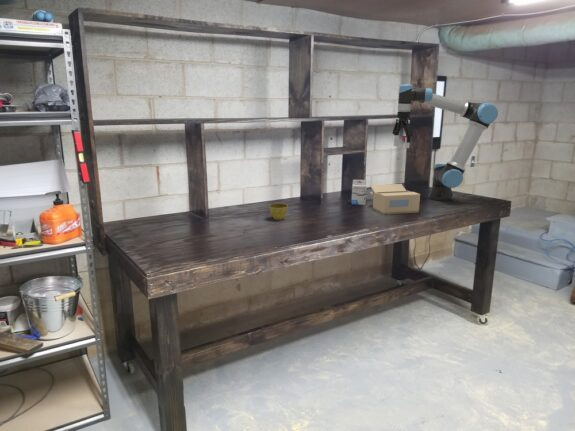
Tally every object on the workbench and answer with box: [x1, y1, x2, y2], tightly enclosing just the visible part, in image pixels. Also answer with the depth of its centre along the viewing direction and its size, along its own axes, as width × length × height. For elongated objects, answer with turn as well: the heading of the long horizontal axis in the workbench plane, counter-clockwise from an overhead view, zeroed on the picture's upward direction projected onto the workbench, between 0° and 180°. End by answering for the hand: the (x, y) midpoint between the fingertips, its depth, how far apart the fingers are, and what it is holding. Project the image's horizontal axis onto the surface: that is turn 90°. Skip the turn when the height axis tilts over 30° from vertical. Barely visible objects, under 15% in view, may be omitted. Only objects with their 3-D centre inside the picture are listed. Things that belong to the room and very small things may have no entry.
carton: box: [372, 190, 421, 215], centre depth 255 cm, size 22×14×11 cm, turn 105°
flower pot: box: [268, 203, 289, 221], centre depth 235 cm, size 10×10×7 cm
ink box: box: [350, 179, 368, 206], centre depth 271 cm, size 9×5×15 cm, turn 84°
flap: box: [369, 183, 407, 196], centre depth 266 cm, size 21×8×7 cm, turn 105°
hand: (401, 146), depth 270 cm, fingers open, 13 cm apart
